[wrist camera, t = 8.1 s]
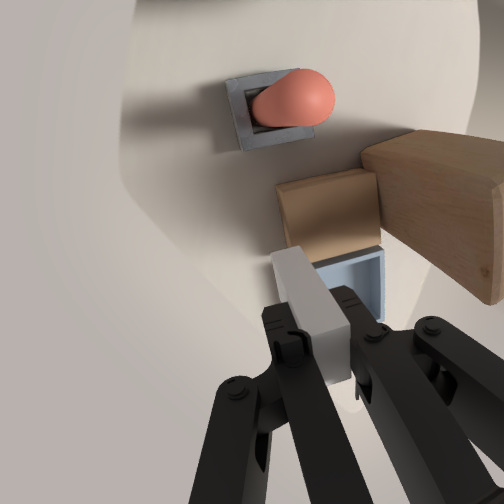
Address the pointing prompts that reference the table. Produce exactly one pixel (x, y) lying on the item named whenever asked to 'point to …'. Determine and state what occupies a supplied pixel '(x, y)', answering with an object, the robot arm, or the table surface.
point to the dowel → (294, 101)
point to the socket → (242, 118)
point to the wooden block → (445, 203)
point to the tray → (358, 276)
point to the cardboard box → (331, 213)
